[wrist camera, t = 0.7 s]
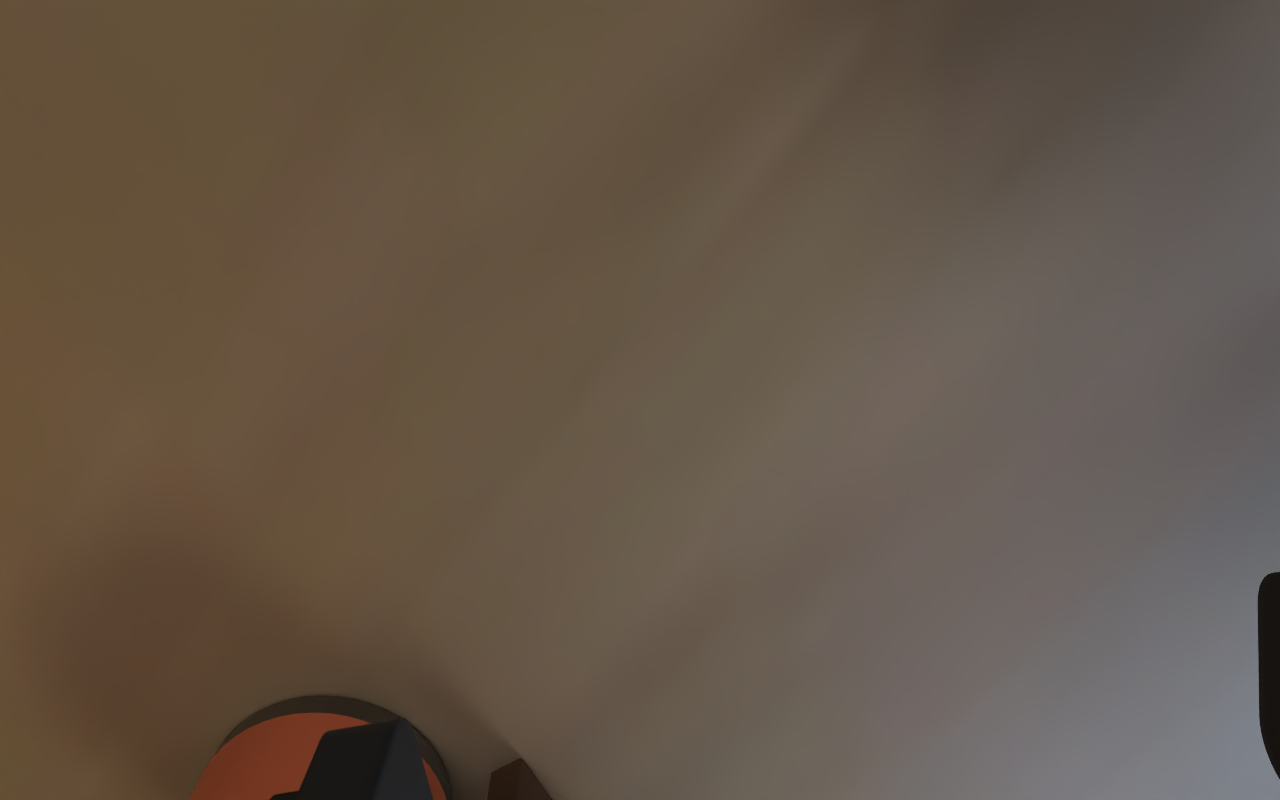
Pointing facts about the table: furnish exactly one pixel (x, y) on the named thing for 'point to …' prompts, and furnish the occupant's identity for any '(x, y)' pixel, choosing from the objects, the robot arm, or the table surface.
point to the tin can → (294, 749)
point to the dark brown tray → (515, 784)
